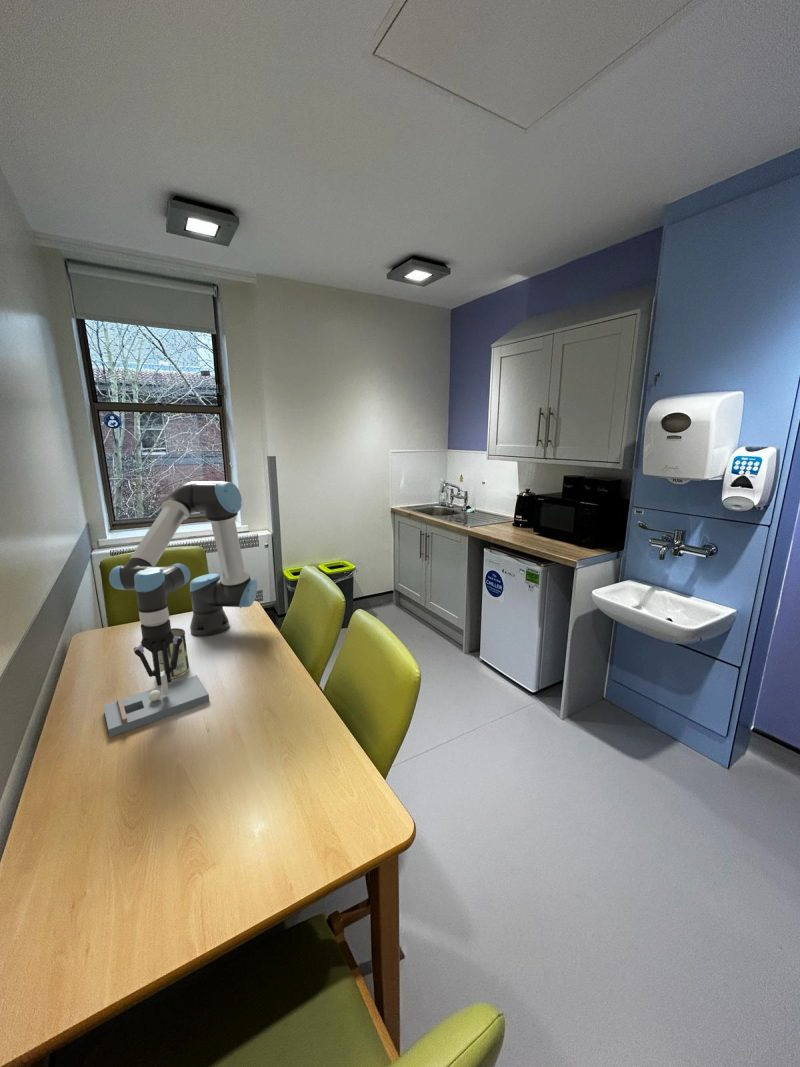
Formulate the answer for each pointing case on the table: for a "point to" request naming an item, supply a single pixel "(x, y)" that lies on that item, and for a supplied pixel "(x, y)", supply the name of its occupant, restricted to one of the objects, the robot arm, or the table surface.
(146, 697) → the deck
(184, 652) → the coffee can
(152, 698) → the ball
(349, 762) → the table surface
